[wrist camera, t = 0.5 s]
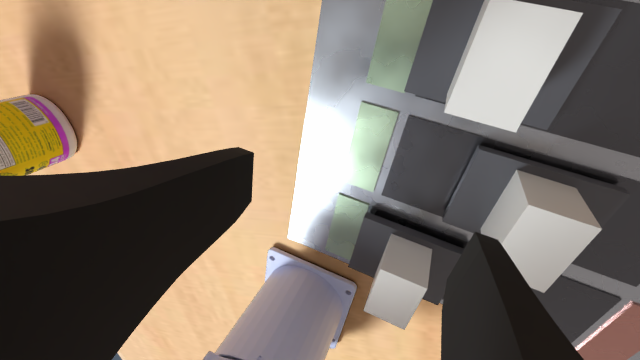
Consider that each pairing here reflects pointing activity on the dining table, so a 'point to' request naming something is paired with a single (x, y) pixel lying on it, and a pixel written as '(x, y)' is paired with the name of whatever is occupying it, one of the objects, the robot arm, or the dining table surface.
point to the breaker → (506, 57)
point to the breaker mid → (532, 211)
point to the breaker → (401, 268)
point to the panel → (468, 157)
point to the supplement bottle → (33, 135)
